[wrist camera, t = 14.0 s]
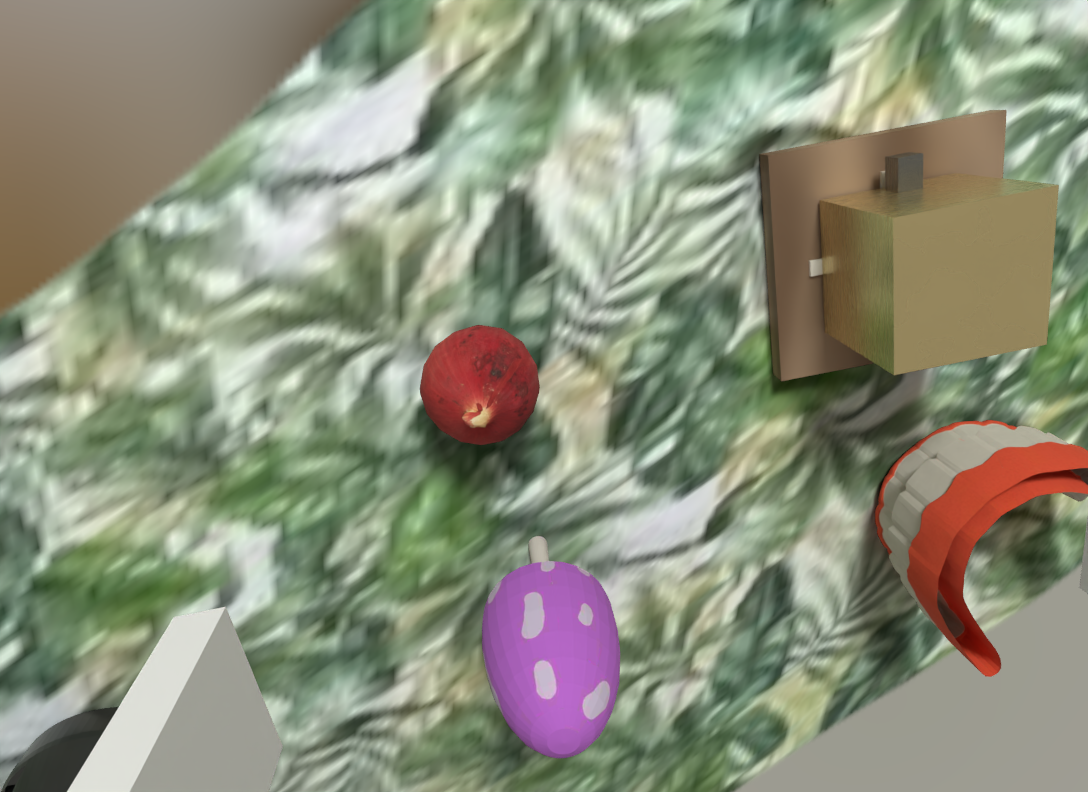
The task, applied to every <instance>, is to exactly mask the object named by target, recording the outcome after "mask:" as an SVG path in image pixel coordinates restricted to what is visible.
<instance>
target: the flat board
mask: <svg viewBox="0 0 1088 792" xmlns="http://www.w3.org/2000/svg"><path fill="white" fill-rule="evenodd" d="M1005 128H1006V110H990V111H985V112H979V113H974V114H969V115H963V116H958V117H953V118H948V119H942V120H937V121H932V122H927V123H921V124H916V125H911V126H906V127H900V128H895V129H890V130H884V131H879V132H874V133H869V134H863V135H858V136H853V137H848V138H842V139H837V140H832V141H827V142H821V143H816V144H811V145H806V146H800V147H795V148H790V149H784V150H779V151H774V152H769V153H763V154H759V155H760V171H761V187H762V203H763V219H764V235H765V251H766V267H767V283H768V299H769V315H770V331H771V347H772V363H773V374H774V375H775V376H776V377H777V378H778V379H779V380H780V381H786V380H791V379H796V378H801V377H806V376H811V375H817V374H822V373H827V372H832V371H837V370H842V369H847V368H853V367H858V366H863V365H868V364H873V363H874V362H872V361H870V360H869V359H867V358H866V357H864V356H862V355H861V354H859V353H857V352H856V351H854V350H853V349H851V348H849V347H848V346H846V345H845V344H843V343H841V342H840V341H838V340H837V339H835V338H833V337H832V336H830V335H829V334H827V333H825V320H824V296H823V272H822V248H821V224H820V200H823V199H828V198H833V197H838V196H843V195H848V194H853V193H858V192H863V191H868V190H873V189H878V188H883V187H885V157H886V156H891V155H897V154H902V153H907V152H916V153H923V179H928V178H933V177H938V176H943V175H948V174H953V173H960V174H969V175H977V176H986V177H994V178H1003V164H1004V146H1005Z"/></svg>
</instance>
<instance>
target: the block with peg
mask: <svg viewBox="0 0 1088 792" xmlns="http://www.w3.org/2000/svg"><path fill="white" fill-rule="evenodd" d="M1058 187H1059V185H1054V184H1046V183H1037V182H1028V181H1020V180H1011V179H1003V178H994V177H986V176H977V175H969V174H960V173H953V174H948V175H943V176H938V177H933V178H928V179H923V153H916V152H907V153H902V154H897V155H891V156H886V157H885V187H883V188H878V189H873V190H868V191H863V192H858V193H853V194H848V195H843V196H838V197H833V198H828V199H823V200H820V224H821V248H822V272H823V296H824V320H825V333H827V334H829V335H830V336H832V337H833V338H835V339H837V340H838V341H840V342H841V343H843V344H845V345H846V346H848V347H849V348H851V349H853V350H854V351H856V352H857V353H859V354H861V355H862V356H864V357H866V358H867V359H869V360H870V361H872V362H874V363H875V364H877V365H878V366H880V367H882V368H883V369H885V370H886V371H888V372H890V373H891V374H893V375H898V374H903V373H908V372H913V371H918V370H923V369H928V368H933V367H938V366H942V365H947V364H952V363H957V362H962V361H967V360H972V359H977V358H982V357H987V356H992V355H997V354H1002V353H1007V352H1012V351H1017V350H1022V349H1027V348H1031V347H1036V346H1041V345H1046V344H1047V333H1048V320H1049V306H1050V293H1051V280H1052V267H1053V253H1054V240H1055V227H1056V214H1057V200H1058Z"/></svg>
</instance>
